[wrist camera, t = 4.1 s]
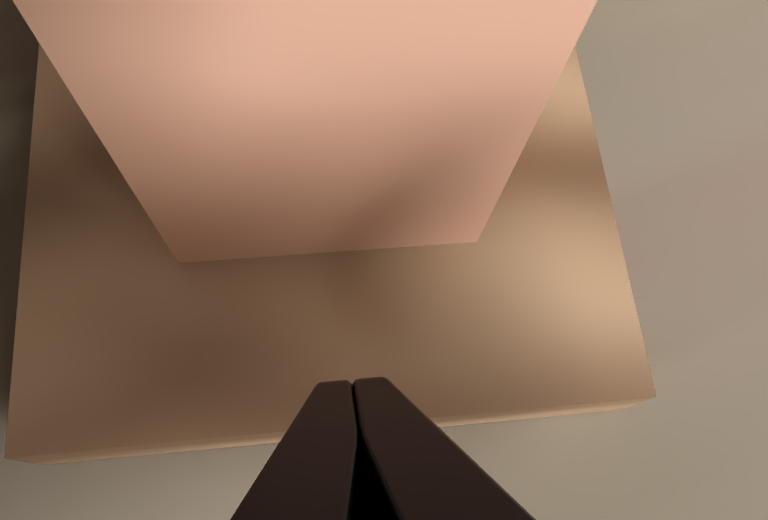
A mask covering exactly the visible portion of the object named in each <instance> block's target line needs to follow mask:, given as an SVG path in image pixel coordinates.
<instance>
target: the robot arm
mask: <svg viewBox="0 0 768 520" xmlns="http://www.w3.org/2000/svg"><path fill="white" fill-rule="evenodd" d="M230 520H536V519H535V518H533V517H532V516H531V515H530V514H529V513H528V512H527V511H526V510H525V509H524V508H523V507H522V506H521V505H520V504H519V503H518V502H517V501H516V500H515V499H513V498H512V497H511V496H510V495H509V494H508V493H507V492H506V491H505V490H504V489H503V488H502V487H501V486H500V485H499V484H498V483H497V482H496V481H495V480H494V479H492V478H491V477H490V476H489V475H488V474H487V473H486V472H485V471H484V470H483V469H482V468H481V467H480V466H479V465H478V464H477V463H476V462H475V461H474V460H473V459H471V458H470V457H469V456H468V455H467V454H466V453H465V452H464V451H463V450H462V449H461V448H460V447H459V446H458V445H457V444H456V443H455V442H454V441H453V440H452V439H450V438H449V437H448V436H447V435H446V434H445V433H444V432H443V431H442V430H441V429H440V428H439V427H438V426H437V425H436V424H435V423H434V422H433V421H432V420H431V419H429V418H428V417H427V416H426V415H425V414H424V413H423V412H422V411H421V410H420V409H419V408H418V407H417V406H416V405H415V404H414V403H413V402H412V401H411V400H410V399H408V398H407V397H406V396H405V395H404V394H403V393H402V392H401V391H400V390H399V389H398V388H397V387H396V386H395V385H394V384H393V383H392V382H391V381H390V380H389V379H387V378H385V377H371V378H361V379H356V380H354V382H353V383H352V384H351V383H350V381H348V380H338V381H327V382H319V383H318V384H317V385H316V386H315V387H314V389H313V391H312V392H311V394H310V395H309V397H308V398H307V400H306V402H305V403H304V405H303V406H302V408H301V409H300V411H299V413H298V414H297V416H296V417H295V419H294V420H293V422H292V424H291V425H290V427H289V428H288V430H287V431H286V433H285V435H284V436H283V438H282V439H281V441H280V442H279V444H278V446H277V447H276V449H275V450H274V452H273V453H272V455H271V457H270V458H269V460H268V461H267V463H266V464H265V466H264V468H263V469H262V471H261V472H260V474H259V475H258V477H257V479H256V480H255V482H254V483H253V485H252V486H251V488H250V490H249V491H248V493H247V494H246V496H245V497H244V499H243V501H242V502H241V504H240V505H239V507H238V508H237V510H236V512H235V513H234V515H233V516H232V518H231V519H230Z"/></svg>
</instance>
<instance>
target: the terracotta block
mask: <svg viewBox="0 0 768 520" xmlns="http://www.w3.org/2000/svg"><path fill="white" fill-rule="evenodd" d="M13 2H14V4H15V5H16V7H17V8H18V10H19V12H20V13H21V15H22V16H23V18H24V20H25V21H26V23H27V24H28V26H29V27H30V29H31V31H32V32H33V34H34V35H35V37H36V39H37V40H38V42H39V43H40V45H41V46H42V48H43V50H44V51H45V53H46V54H47V56H48V58H49V59H50V61H51V62H52V64H53V66H54V67H55V69H56V70H57V72H58V73H59V75H60V77H61V78H62V80H63V81H64V83H65V85H66V86H67V88H68V89H69V91H70V92H71V94H72V96H73V97H74V99H75V100H76V102H77V104H78V105H79V107H80V108H81V110H82V112H83V113H84V115H85V116H86V118H87V119H88V121H89V123H90V124H91V126H92V127H93V129H94V131H95V132H96V134H97V135H98V137H99V138H100V140H101V142H102V143H103V145H104V146H105V148H106V150H107V151H108V153H109V154H110V156H111V158H112V159H113V161H114V162H115V164H116V165H117V167H118V169H119V170H120V172H121V173H122V175H123V177H124V178H125V180H126V181H127V183H128V184H129V186H130V188H131V189H132V191H133V192H134V194H135V196H136V197H137V199H138V200H139V202H140V204H141V205H142V207H143V208H144V210H145V211H146V213H147V215H148V216H149V218H150V219H151V221H152V223H153V224H154V226H155V227H156V229H157V230H158V232H159V234H160V235H161V237H162V238H163V240H164V242H165V243H166V245H167V246H168V248H169V250H170V251H171V253H172V254H173V256H174V257H175V259H176V261H177V262H178V263H188V262H202V261H216V260H230V259H244V258H258V257H272V256H286V255H299V254H313V253H327V252H341V251H355V250H369V249H383V248H397V247H411V246H425V245H439V244H453V243H467V242H477V241H478V239H479V237H480V235H481V233H482V231H483V229H484V227H485V225H486V223H487V221H488V219H489V217H490V215H491V213H492V211H493V209H494V207H495V205H496V203H497V201H498V199H499V197H500V195H501V193H502V191H503V189H504V187H505V185H506V183H507V181H508V178H509V176H510V174H511V172H512V170H513V168H514V166H515V164H516V162H517V160H518V158H519V156H520V154H521V152H522V150H523V148H524V146H525V144H526V142H527V140H528V138H529V136H530V134H531V132H532V130H533V128H534V126H535V124H536V122H537V120H538V118H539V116H540V114H541V112H542V110H543V108H544V106H545V104H546V102H547V100H548V98H549V96H550V94H551V92H552V90H553V88H554V86H555V84H556V82H557V80H558V78H559V76H560V74H561V72H562V70H563V68H564V66H565V64H566V62H567V60H568V58H569V56H570V54H571V52H572V50H573V48H574V46H575V44H576V42H577V40H578V38H579V36H580V34H581V32H582V30H583V28H584V26H585V24H586V22H587V20H588V18H589V16H590V14H591V12H592V10H593V8H594V6H595V4H596V2H597V0H13Z"/></svg>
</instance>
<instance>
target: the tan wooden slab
mask: <svg viewBox="0 0 768 520" xmlns="http://www.w3.org/2000/svg"><path fill="white" fill-rule="evenodd" d="M371 377H385V378H387V379H389V380H390V381H391V382H392V383H393V384H394V385H395V386H396V387H397V388H398V389H399V390H400V391H401V392H402V393H403V394H404V395H405V396H406V397H407V398H408V399H410V400H411V401H412V402H413V403H414V404H415V405H416V406H417V407H418V408H419V409H420V410H421V411H422V412H423V413H424V414H425V415H426V416H427V417H428V418H429V419H431V420H432V421H433V422H434V423H435V424H436V425H437V426H438V427H445V426H455V425H466V424H476V423H486V422H497V421H507V420H518V419H528V418H539V417H549V416H560V415H570V414H581V413H591V412H601V411H612V410H622V409H625V408H628V407H630V406H633V405H635V404H638V403H641V402H643V401H646V400H648V399H651V398H654V397H656V393H655V389H654V384H653V380H652V376H651V371H650V367H649V363H648V358H647V354H646V350H645V346H644V341H643V337H642V333H641V328H640V324H639V320H638V315H637V311H636V307H635V303H634V298H633V294H632V290H631V285H630V281H629V277H628V272H627V268H626V264H625V259H624V255H623V251H622V247H621V242H620V238H619V234H618V229H617V225H616V221H615V216H614V212H613V208H612V204H611V199H610V195H609V191H608V186H607V182H606V178H605V173H604V169H603V165H602V161H601V156H600V152H599V148H598V143H597V139H596V135H595V130H594V126H593V122H592V117H591V113H590V109H589V105H588V100H587V96H586V92H585V87H584V83H583V79H582V74H581V70H580V66H579V62H578V57H577V53H576V49H575V46H574V48H573V50H572V52H571V54H570V56H569V58H568V60H567V62H566V64H565V66H564V68H563V70H562V72H561V74H560V76H559V78H558V80H557V82H556V84H555V86H554V88H553V90H552V92H551V94H550V96H549V98H548V100H547V102H546V104H545V106H544V108H543V110H542V112H541V114H540V116H539V118H538V120H537V122H536V124H535V126H534V128H533V130H532V132H531V134H530V136H529V138H528V140H527V142H526V144H525V146H524V148H523V150H522V152H521V154H520V156H519V158H518V160H517V162H516V164H515V166H514V168H513V170H512V172H511V174H510V176H509V178H508V181H507V183H506V185H505V187H504V189H503V191H502V193H501V195H500V197H499V199H498V201H497V203H496V205H495V207H494V209H493V211H492V213H491V215H490V217H489V219H488V221H487V223H486V225H485V227H484V229H483V231H482V233H481V235H480V237H479V239H478V241H477V242H467V243H453V244H439V245H425V246H411V247H397V248H383V249H369V250H355V251H341V252H327V253H313V254H299V255H286V256H272V257H258V258H244V259H230V260H216V261H202V262H188V263H178V262H177V261H176V259H175V257H174V256H173V254H172V253H171V251H170V250H169V248H168V246H167V245H166V243H165V242H164V240H163V238H162V237H161V235H160V234H159V232H158V230H157V229H156V227H155V226H154V224H153V223H152V221H151V219H150V218H149V216H148V215H147V213H146V211H145V210H144V208H143V207H142V205H141V204H140V202H139V200H138V199H137V197H136V196H135V194H134V192H133V191H132V189H131V188H130V186H129V184H128V183H127V181H126V180H125V178H124V177H123V175H122V173H121V172H120V170H119V169H118V167H117V165H116V164H115V162H114V161H113V159H112V158H111V156H110V154H109V153H108V151H107V150H106V148H105V146H104V145H103V143H102V142H101V140H100V138H99V137H98V135H97V134H96V132H95V131H94V129H93V127H92V126H91V124H90V123H89V121H88V119H87V118H86V116H85V115H84V113H83V112H82V110H81V108H80V107H79V105H78V104H77V102H76V100H75V99H74V97H73V96H72V94H71V92H70V91H69V89H68V88H67V86H66V85H65V83H64V81H63V80H62V78H61V77H60V75H59V73H58V72H57V70H56V69H55V67H54V66H53V64H52V62H51V61H50V59H49V58H48V56H47V54H46V53H45V51H44V50H43V48H42V46H41V45H40V43H39V51H38V63H37V75H36V87H35V99H34V110H33V122H32V134H31V146H30V158H29V170H28V182H27V194H26V206H25V218H24V230H23V242H22V254H21V266H20V278H19V290H18V302H17V314H16V325H15V337H14V349H13V361H12V373H11V385H10V397H9V409H8V421H7V433H6V445H5V457H4V458H8V459H13V460H19V461H24V462H30V463H35V464H41V465H47V464H58V463H68V462H79V461H89V460H100V459H110V458H121V457H131V456H142V455H152V454H162V453H173V452H183V451H194V450H204V449H215V448H225V447H236V446H246V445H257V444H267V443H277V442H280V441H281V439H282V438H283V436H284V435H285V433H286V431H287V430H288V428H289V427H290V425H291V424H292V422H293V420H294V419H295V417H296V416H297V414H298V413H299V411H300V409H301V408H302V406H303V405H304V403H305V402H306V400H307V398H308V397H309V395H310V394H311V392H312V391H313V389H314V387H315V386H316V385H317V384H318V383H319V382H327V381H338V380H348V381H350V383H351V384H352V383H353V382H354V380H356V379H361V378H371Z"/></svg>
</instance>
